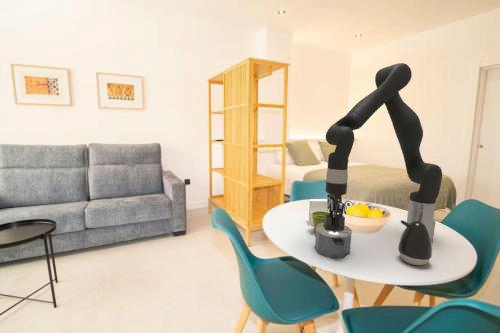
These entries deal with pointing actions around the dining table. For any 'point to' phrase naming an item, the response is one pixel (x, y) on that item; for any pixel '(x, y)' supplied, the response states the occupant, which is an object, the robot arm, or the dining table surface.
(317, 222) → the plant pot
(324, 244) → the pot
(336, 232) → the lid
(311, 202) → the white tall block
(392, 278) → the dining table surface
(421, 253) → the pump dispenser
